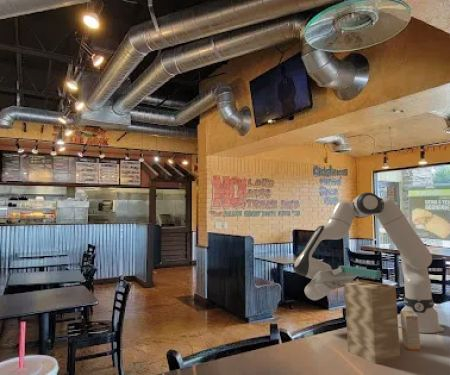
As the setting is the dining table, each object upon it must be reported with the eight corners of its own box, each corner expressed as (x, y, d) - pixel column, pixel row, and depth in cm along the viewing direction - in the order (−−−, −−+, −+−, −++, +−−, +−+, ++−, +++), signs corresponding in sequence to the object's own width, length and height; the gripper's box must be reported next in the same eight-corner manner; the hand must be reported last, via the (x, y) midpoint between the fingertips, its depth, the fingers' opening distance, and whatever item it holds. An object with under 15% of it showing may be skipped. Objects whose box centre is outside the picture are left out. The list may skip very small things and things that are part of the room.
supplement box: (421, 350, 140) (418, 316, 142) (407, 350, 141) (405, 315, 143) (414, 343, 148) (412, 310, 150) (402, 343, 149) (399, 310, 151)
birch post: (348, 351, 141) (344, 281, 144) (371, 346, 146) (367, 278, 149) (375, 363, 129) (371, 286, 131) (400, 357, 133) (395, 283, 136)
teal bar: (338, 271, 154) (338, 266, 155) (342, 271, 155) (342, 265, 156) (376, 278, 135) (376, 271, 135) (381, 277, 136) (380, 271, 136)
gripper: (306, 276, 160) (323, 263, 150) (343, 272, 168) (361, 259, 158) (311, 290, 156) (328, 277, 146) (348, 285, 165) (367, 273, 154)
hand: (345, 268), depth 152 cm, fingers closed on teal bar, 2 cm apart
